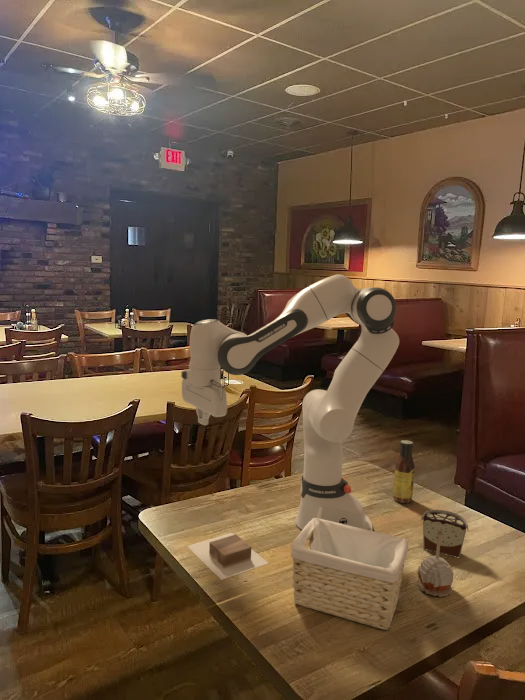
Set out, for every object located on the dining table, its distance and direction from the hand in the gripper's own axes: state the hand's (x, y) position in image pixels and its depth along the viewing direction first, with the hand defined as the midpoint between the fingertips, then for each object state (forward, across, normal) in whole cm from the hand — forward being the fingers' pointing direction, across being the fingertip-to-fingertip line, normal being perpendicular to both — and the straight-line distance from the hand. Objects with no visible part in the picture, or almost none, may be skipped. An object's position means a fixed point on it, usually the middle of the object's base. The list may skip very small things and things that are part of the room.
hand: (203, 423), depth 157 cm
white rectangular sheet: (+29, -21, +4) cm, 36 cm away
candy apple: (+29, -59, -31) cm, 73 cm away
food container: (+29, -49, -49) cm, 75 cm away
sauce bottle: (+29, -22, -63) cm, 73 cm away
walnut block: (+27, -19, +4) cm, 33 cm away
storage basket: (+29, -51, -10) cm, 60 cm away
